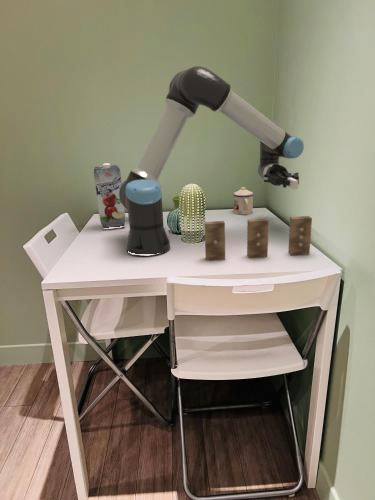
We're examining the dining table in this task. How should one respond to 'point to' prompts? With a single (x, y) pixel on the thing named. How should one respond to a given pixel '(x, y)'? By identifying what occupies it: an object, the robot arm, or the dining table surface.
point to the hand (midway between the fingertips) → (295, 184)
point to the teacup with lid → (243, 201)
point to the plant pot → (176, 201)
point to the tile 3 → (300, 235)
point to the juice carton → (109, 195)
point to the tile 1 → (215, 240)
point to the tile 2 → (257, 238)
